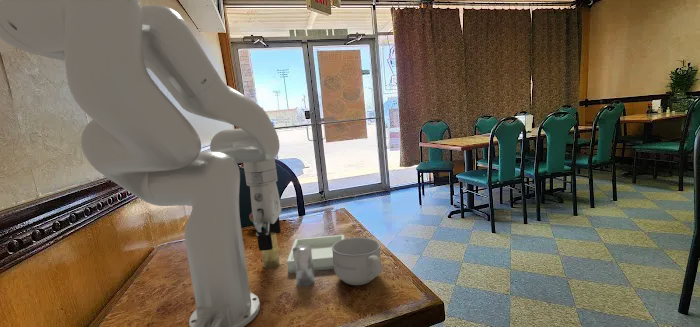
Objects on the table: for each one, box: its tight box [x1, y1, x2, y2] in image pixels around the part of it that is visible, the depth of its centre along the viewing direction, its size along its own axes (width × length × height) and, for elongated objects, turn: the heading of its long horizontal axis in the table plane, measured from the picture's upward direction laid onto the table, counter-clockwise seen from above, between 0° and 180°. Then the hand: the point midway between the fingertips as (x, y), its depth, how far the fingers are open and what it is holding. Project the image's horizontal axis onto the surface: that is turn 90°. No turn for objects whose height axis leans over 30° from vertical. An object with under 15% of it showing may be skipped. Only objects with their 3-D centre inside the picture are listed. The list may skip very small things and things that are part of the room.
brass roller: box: [261, 232, 281, 270], centre depth 77 cm, size 4×4×8 cm
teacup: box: [332, 236, 383, 286], centre depth 66 cm, size 14×11×8 cm
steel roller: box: [293, 245, 315, 288], centre depth 68 cm, size 4×4×8 cm
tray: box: [286, 234, 345, 274], centre depth 80 cm, size 14×14×3 cm
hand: (270, 241), depth 78 cm, fingers open, 9 cm apart
